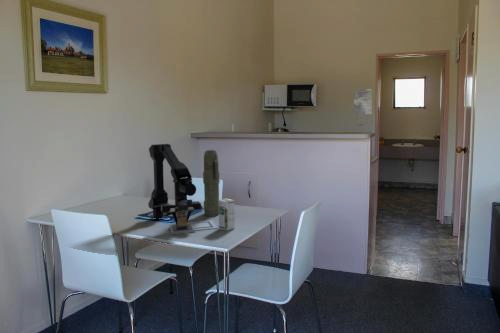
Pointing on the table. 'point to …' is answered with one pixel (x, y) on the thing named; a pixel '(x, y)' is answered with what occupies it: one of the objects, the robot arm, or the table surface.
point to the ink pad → (181, 229)
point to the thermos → (211, 183)
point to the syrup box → (226, 214)
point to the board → (203, 225)
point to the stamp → (181, 220)
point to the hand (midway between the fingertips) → (181, 224)
